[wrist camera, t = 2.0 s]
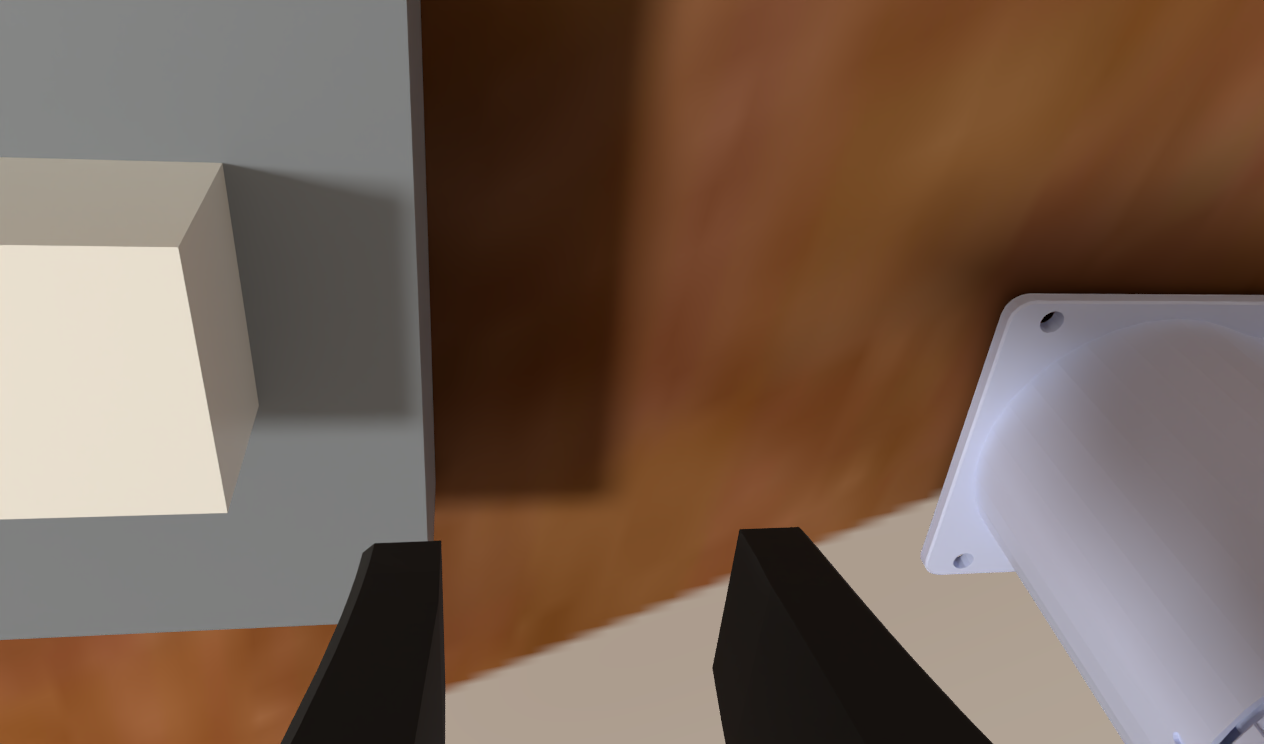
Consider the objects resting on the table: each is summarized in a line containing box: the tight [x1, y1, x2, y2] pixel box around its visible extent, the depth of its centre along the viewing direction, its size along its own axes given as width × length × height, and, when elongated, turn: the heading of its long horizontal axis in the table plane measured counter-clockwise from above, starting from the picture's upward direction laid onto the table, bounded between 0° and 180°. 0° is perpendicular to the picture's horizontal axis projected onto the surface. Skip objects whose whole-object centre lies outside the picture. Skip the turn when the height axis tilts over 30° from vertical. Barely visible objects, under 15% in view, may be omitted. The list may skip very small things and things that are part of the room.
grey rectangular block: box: [0, 0, 436, 640], centre depth 15 cm, size 11×14×4 cm
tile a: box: [0, 157, 259, 519], centre depth 13 cm, size 4×4×2 cm
